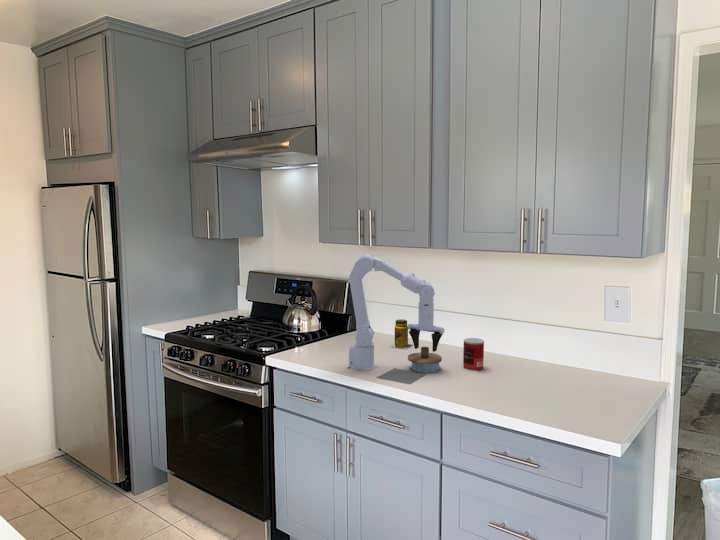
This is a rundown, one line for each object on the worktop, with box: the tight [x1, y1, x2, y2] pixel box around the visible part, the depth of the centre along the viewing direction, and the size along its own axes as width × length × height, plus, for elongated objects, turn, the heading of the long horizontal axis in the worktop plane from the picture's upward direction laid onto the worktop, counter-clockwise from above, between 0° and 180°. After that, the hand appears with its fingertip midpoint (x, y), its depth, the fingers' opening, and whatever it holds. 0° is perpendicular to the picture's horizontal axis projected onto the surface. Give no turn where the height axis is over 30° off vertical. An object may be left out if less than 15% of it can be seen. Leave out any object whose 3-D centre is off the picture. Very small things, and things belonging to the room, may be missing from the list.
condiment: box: [394, 319, 414, 350], centre depth 246 cm, size 7×8×12 cm
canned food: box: [462, 337, 485, 371], centre depth 213 cm, size 8×8×11 cm
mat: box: [376, 367, 428, 385], centre depth 202 cm, size 14×14×1 cm
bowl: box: [411, 362, 440, 373], centre depth 211 cm, size 10×10×4 cm
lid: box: [407, 346, 443, 364], centre depth 210 cm, size 13×13×5 cm
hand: (425, 349), depth 211 cm, fingers open, 7 cm apart
